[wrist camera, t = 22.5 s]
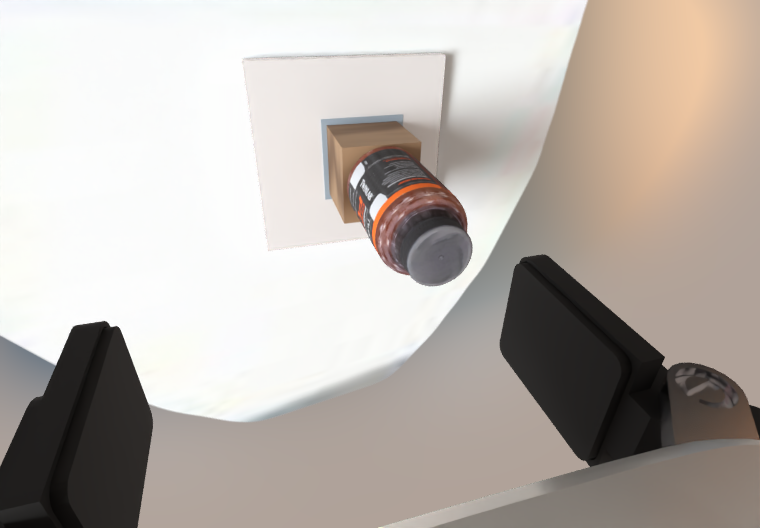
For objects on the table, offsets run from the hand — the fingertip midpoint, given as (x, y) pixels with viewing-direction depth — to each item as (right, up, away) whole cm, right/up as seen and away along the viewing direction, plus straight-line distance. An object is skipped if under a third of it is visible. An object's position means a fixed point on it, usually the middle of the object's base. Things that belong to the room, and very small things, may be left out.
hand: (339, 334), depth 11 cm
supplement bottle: (+1, +8, +24) cm, 25 cm away
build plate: (-2, +11, +30) cm, 32 cm away
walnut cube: (-1, +11, +29) cm, 31 cm away
